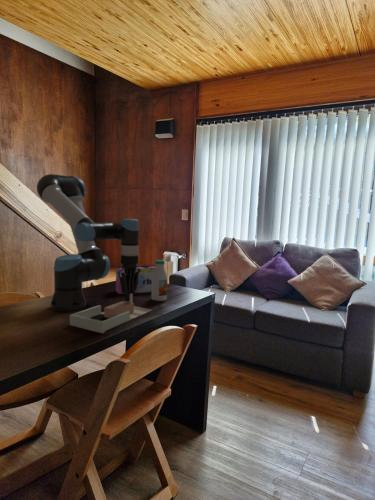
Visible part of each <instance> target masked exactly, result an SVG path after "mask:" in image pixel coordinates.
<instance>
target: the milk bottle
mask: <svg viewBox="0 0 375 500" xmlns="http://www.w3.org/2000/svg"><path fill="white" fill-rule="evenodd" d="M165 262H166V261H165V260H163V259H156V260H155V265H156V267H155V270H154V272H153V275H152V292H151V295H150V298H151V300H152V301H158V302H164V301H167V298H168V275H167V272H166V269H165Z"/></svg>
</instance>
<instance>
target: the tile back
mask: <svg viewBox="0 0 375 500" xmlns="http://www.w3.org/2000/svg"><path fill="white" fill-rule="evenodd" d="M114 304H115V305H120V306H125V312H127V311H129V312H130V313H133V312H134V306H135V303H134V302H132V303H130V302H125V301H123V300H122V301H119V302H116V303H114Z"/></svg>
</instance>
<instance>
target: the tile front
mask: <svg viewBox="0 0 375 500" xmlns="http://www.w3.org/2000/svg"><path fill="white" fill-rule="evenodd" d="M115 304H116V303H112V304H110V305H108V306H105V307H104V309H103V310H104V311H103V312H104V314H103V315H104V316H103V317H104V318H106V319H109V318H112V317H114V316H117V315H119V314H122V313H124V312H125V306H120V305H115Z"/></svg>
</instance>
